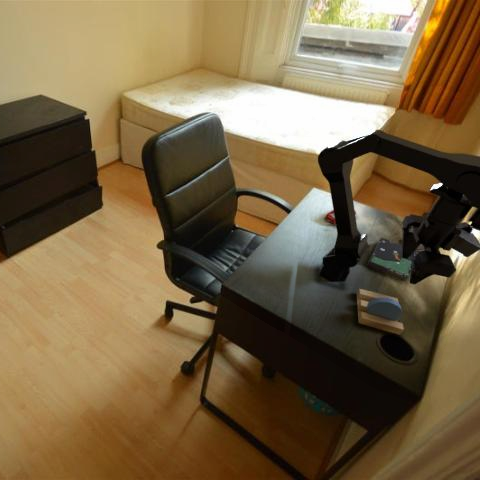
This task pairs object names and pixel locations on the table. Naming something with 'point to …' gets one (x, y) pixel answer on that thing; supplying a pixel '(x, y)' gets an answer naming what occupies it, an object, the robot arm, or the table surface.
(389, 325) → the rack
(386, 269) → the disk drive
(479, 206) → the robot arm
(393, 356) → the table surface
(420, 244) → the decorative disc
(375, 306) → the blue disc
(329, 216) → the race car
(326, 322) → the table surface
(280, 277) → the table surface
